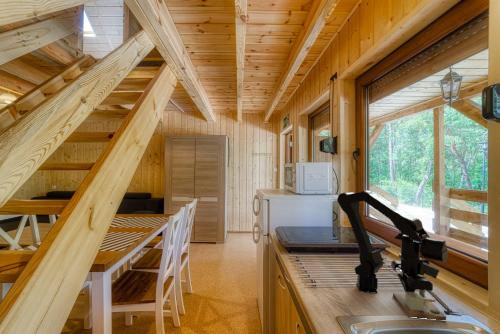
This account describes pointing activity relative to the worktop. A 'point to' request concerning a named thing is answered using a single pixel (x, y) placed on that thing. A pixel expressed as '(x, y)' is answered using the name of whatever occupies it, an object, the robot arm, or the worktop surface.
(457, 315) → the tactical tomahawk
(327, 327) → the worktop surface
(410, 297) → the pointer block
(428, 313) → the board
